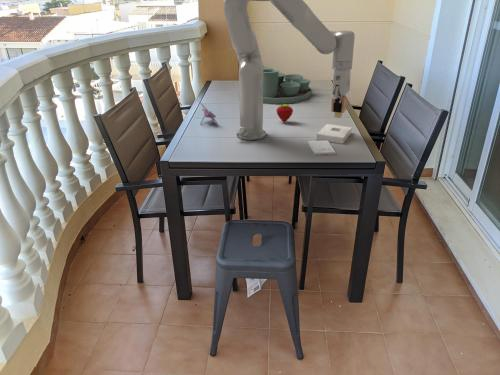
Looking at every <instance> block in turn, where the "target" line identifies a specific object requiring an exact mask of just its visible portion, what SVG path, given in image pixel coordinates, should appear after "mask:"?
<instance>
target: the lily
mask: <svg viewBox="0 0 500 375" xmlns="http://www.w3.org/2000/svg"><path fill="white" fill-rule="evenodd" d="M199 104H200V105H201V106H202V109H201V111H202V112H203V118H202V119H201V121H200V124H199V125H202V122H203V121H204V119H205V118H210V119H212V120H213V121H214V122H215V123H216V124H218V122H217V120H216V119H215V118H217V116H216V115H215V114H214V113H213V112H212V110H208V109H207V108H206V107H205V105H204V104H203V103H202V102H199Z"/></svg>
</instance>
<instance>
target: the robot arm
mask: <svg viewBox="0 0 500 375" xmlns="http://www.w3.org/2000/svg"><path fill="white" fill-rule="evenodd" d="M249 2H270V3H271V4H272V5H273V6H274V7H275V8H276V10H278V11H279V13H280V14H282V15H283V17H284V18H285V19H286V21H288V22H289V23H290V24H291V25H292V26H293V28H295V29H297V31H298V32H300V34H302V35H303V37H305V38H306V39H307V41H308V42H309V43H310V44H311V45H312V46H313V47H314V48H315V50H317V51H318V52H319V53H320V54H322V55H329V54H332V53H333V54H332V68H331V69H332V70H334V71H333V77H332V78H333V79H332V87H331V88H332V90H331V91H332V95H333V97H334V107H333V112H332V113H335V112H339V113H340V112H341V109H342V103H341V100H342V97H346V95H347V94H348V93H349V92H350V91H351V90H350V89H351V70H352V69H353V59H354V58H353V57H354V49H355V48H354V46H355V37H356V36H355V33H354V32H353V31H352V30H338V31H333V30H329V29H328V28H327V27H326V25H325V24H324V23H323V22H322V21H321V20H320V18H318V17H317V15H316V14H315V13H314V12H313V11H312V9H311V8H310V6H308V4H307V3H306V2H305V1H304V0H223V12H224V17H225V22H226V24H227V25H226V26H227V29H228V33H229V37H230V41H231V47H232V50H233V51H234V52H235V54H236V58H237V62H238V65H239V67H238V87H239V88H238V89H239V90H238V92H239V130H237V131H236V137H237V138H238V139H241V140H246V141H257V140H261V139H263V138H265V137H266V136H267V131H266V130H265V129H263V126H264V125H263V124H264V123H263V122H264V116H263V115H264V111H263V110H264V103H263V66H264V64H263V60H262V59H263V58H262V56H261V52H260V48H259V44H258V40H257V37H256V33H255V32H254V31H253V29H252V26H251V22H250V17H249V14H248V4H249ZM338 96H339V97H340V98H339V97H338Z"/></svg>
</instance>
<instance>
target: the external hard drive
mask: <svg viewBox="0 0 500 375" xmlns="http://www.w3.org/2000/svg"><path fill="white" fill-rule="evenodd" d="M307 144H308V146H309V148H310V149H311V151H312V153H313V154H314V156H324V155H326V156H329V155H330V156H331V155H332V156H333V155H334V156H335V155H337V152H336V151H335V149H334V147H333V146H332V144H331V142H329V141H327V140H325V141H322V140H309V141H307Z"/></svg>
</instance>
